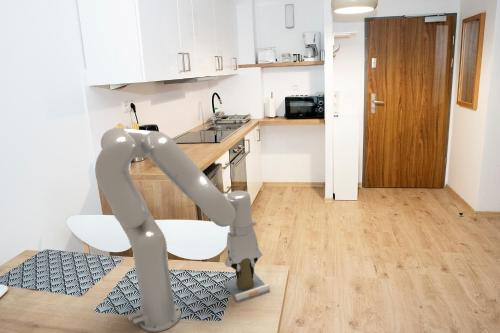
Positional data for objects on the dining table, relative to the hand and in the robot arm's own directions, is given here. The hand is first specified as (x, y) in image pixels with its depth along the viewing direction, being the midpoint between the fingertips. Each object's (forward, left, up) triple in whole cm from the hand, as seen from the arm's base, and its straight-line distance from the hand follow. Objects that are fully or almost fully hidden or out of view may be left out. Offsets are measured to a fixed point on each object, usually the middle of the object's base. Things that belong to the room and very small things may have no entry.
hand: (245, 277), depth 134 cm
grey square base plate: (0, +1, -5) cm, 5 cm away
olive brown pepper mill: (0, 0, -2) cm, 2 cm away
